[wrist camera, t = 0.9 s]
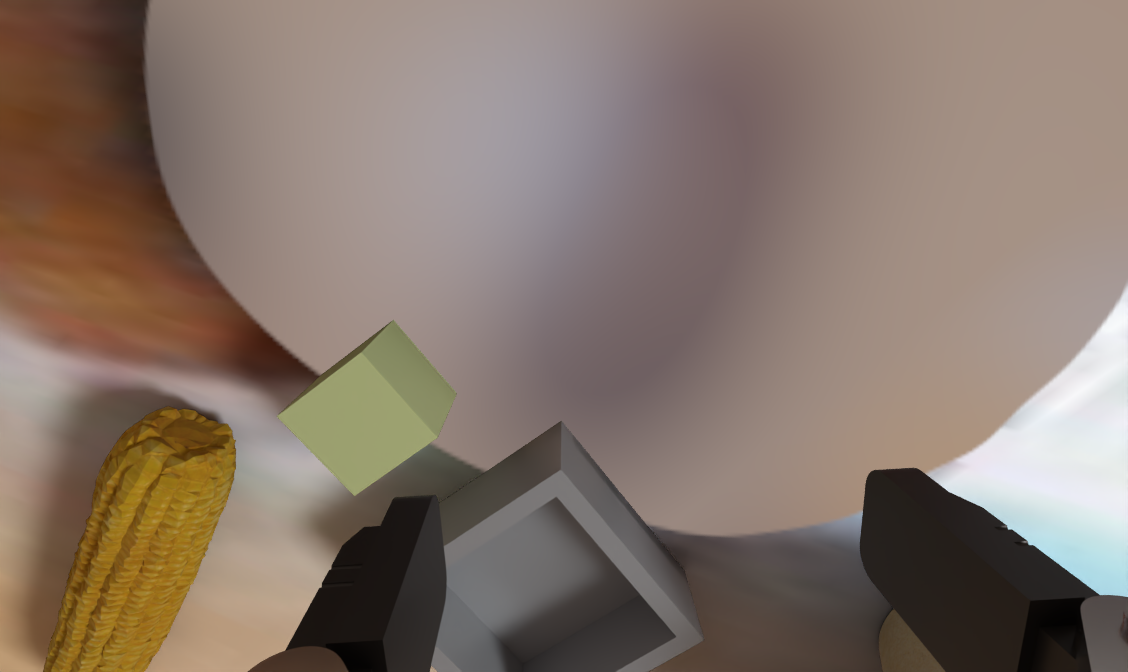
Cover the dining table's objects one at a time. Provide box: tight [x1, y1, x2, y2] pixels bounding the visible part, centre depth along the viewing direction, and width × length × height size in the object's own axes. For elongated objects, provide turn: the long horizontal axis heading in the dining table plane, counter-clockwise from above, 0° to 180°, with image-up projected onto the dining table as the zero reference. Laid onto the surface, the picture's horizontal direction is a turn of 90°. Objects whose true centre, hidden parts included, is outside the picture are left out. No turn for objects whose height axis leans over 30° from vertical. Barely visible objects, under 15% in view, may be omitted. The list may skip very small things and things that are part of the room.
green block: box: [277, 320, 457, 496], centre depth 28 cm, size 5×5×5 cm
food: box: [43, 406, 236, 672], centre depth 31 cm, size 21×6×6 cm, turn 153°
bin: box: [431, 421, 704, 672], centre depth 31 cm, size 12×12×5 cm
